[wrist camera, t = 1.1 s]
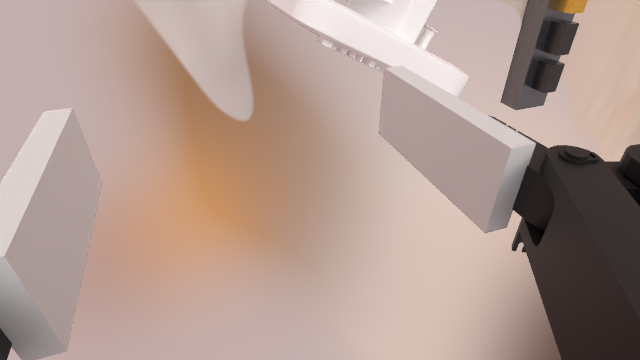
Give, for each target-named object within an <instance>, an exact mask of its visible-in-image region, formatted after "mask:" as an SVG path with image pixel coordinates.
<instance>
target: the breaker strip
mask: <svg viewBox="0 0 640 360" xmlns="http://www.w3.org/2000/svg"><path fill="white" fill-rule="evenodd" d="M586 3H587V0H528V4H527V8H526V11H525V15H524V19H523V22H522V26H521V30H520V34H519V37H518V41H517V44H516V48H515V51H514V55H513V59H512V62H511V66H510V70H509V73H508V77H507V80H506V84H505V88H504V92H503V95H502V99H501V103H503V104H505V105H507V106H509V107H511V108H513V109H515V110H519V109H525V108H531V107H536V106H542V105H544V102H545V99H546V96H547V93H548V92H554V91H556V88H557V85H558V82H559V79H560V76H561V74H562V71H563V68H564V65H565V64H564V63H561V62H558V61H559V58H560V55H566V54H569V51H570V48H571V45H572V42H573V40H574V37H575V34H576V31H577V28H578V25H579V23H576V22H572V20H573V17H574V14H575V13H583V11H584V8H585V6H586Z"/></svg>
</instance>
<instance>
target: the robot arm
mask: <svg viewBox="0 0 640 360" xmlns="http://www.w3.org/2000/svg"><path fill="white" fill-rule="evenodd" d="M379 134H380V135H381V136H382V137H383V138H384V139H385V140H387V141H388V142H389V143H390V144H391V145H392V146H393V147H394V148H395V149H396V150H397V151H398V152H399V153H400V154H401V155H402V156H404V157H405V158H406V159H407V160H408V161H409V162H410V163H411V164H412V165H413V166H414V167H415V168H416V169H417V170H418V171H420V172H421V173H422V174H423V175H424V176H425V177H426V178H427V179H428V180H429V181H430V182H431V183H432V184H433V185H434V186H436V187H437V188H438V189H439V190H440V191H441V192H442V193H443V194H444V195H445V196H446V197H447V198H448V199H449V200H450V201H451V202H452V203H453V204H454V205H456V206H457V207H458V208H459V209H460V210H461V211H462V212H463V213H464V214H465V215H466V216H467V217H468V218H469V219H470V220H471V221H473V222H474V223H475V224H476V225H477V226H478V227H479V228H480V229H481V230H482V231H483V232H484V233H488V232H492V231H495V230H499V229H502V228H506V227H507V226H508V223H509V220H510V217H511V214H512V211H513V210H514V211H515V212H517V213H518V214H519V215H520V216H522V219H521V222H520V225H519V228H518V230H517V233H516V235H515V238H514V241H513V243H512V251H516V249H517V247H518V244H519V243H521V242H523V244H524V247H523V249H522V252H526V253H527V256H528V259H529V262H530V265H531V268H532V271H533V274H534V277H535V280H536V283H537V286H538V289H539V292H540V295H541V298H542V301H543V304H544V307H545V310H546V314H547V316H548V320H549V323H550V326H551V329H552V332H553V334H554V338H555V341H556V344H557V346H558V350H559V353H560V356H561V359H562V360H640V144H638V145H631V146H629V147H628V148H626V150H625V152H624V154H623V156H622V158H621V160H620V162H604V160H603V159H602V158H600V157H599V156H598V155H597V154H595V153H593V152H590V151H588V150H585V149H582V148H579V147H574V146H567V145H560V146H559V145H557V146H553V147H550V148H547V147H545V146H544V145H542V144H540V143H538V142H536V141H535V140H533V139H531V138H530V137H528V136H526V135H524V134H523V133H521V132H519V131H518V132H516V129H514V128H512V127H510V126H506V124H505V123H503V122H502V121H500V120H498V119H496V118H495V117H492V116H489V115H487V114H485V113H483V112H481V111H480V110H478V109H476V108H474V107H473V106H471V105H469V104H468V103H466V102H464V101H462V100H461V99H458V98H457V97H455V96H454V95H452V94H450V93H448V92H447V91H445V90H443V89H442V88H440V87H438V86H436V85H435V84H433V83H431V82H429V81H428V80H426V79H424V78H423V77H421V76H419V75H417V74H416V73H414V72H412V71H410V70H409V69H407V68H405V67H403V66H397V67H389V68H384V80H383V91H382V102H381V115H380V126H379ZM101 186H102V180H101V178H100V175H99V173H98V170H97V168H96V165H95V163H94V160H93V158H92V155H91V153H90V150H89V148H88V145H87V143H86V140H85V137H84V135H83V132H82V130H81V128H80V125H79V122H78V120H77V117H76V115H75V112H74V110H73V108H66V109H59V110H50V111H44V112H43V114H42V115H41V117H40V119H39V120H38V122H37V124H36V125H35V127H34V129H33V130H32V132H31V134H30V135H29V137H28V139H27V140H26V142H25V144H24V145H23V147H22V149H21V150H20V152H19V153H18V155H17V157H16V159H15V160H14V162H13V163H12V165H11V167H10V169H9V170H8V172H7V174H6V175H5V177H4V178H3V180H2V182H1V183H0V360H7V358H8V355H9V352H10V349H11V347H12V348H13V349H14V350H15V352H16V353H17V354H18V356H19V357H20V358H21V359H22V360H36V359H40V358H44V357H47V356H51V355H55V354H58V353H62V352H65V351H67V347H68V343H69V338H70V333H71V329H72V324H73V318H74V314H75V310H76V304H77V300H78V295H79V290H80V286H81V281H82V276H83V272H84V267H85V262H86V257H87V253H88V248H89V243H90V239H91V234H92V229H93V224H94V220H95V215H96V210H97V205H98V201H99V196H100V191H101Z"/></svg>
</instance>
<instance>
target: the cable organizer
mask: <svg viewBox="0 0 640 360" xmlns="http://www.w3.org/2000/svg"><path fill="white" fill-rule="evenodd" d="M266 1H267V2H268V3H270V4H271V5H273V6H274V7H276V8H277V9H278V10H280V11H281V12H283V13H284V14H285V15H287V16H288V17H290V18H291V19H293V20H294V21H295V22H297V23H298V24H300V25H301V26H303V27H304V28H306V29H308V30H309V31H311V32H313V33H315V34H317V35H319V36H318V38H317V40H318V41H319V42H320V43H321V44H322V45H324V46H326V47H328V48H332V49H334V50H337V51H339V52H341V53H342V54H345V55H346V54H347V55H348V56H349V57H351V58H352V59H356V60H357V61H359V62H363V63H365V64H366V65H368V66H369V67H372V68H375V69H377V70H380V71H381V72H384V68H389V67H397V66H403V67H405V68H407V69H409V70H410V71H412V72H414V73H416V74H417V75H419V76H421V77H423V78H424V79H426V80H428V81H429V82H431V83H433V84H435V85H436V86H438V87H440V88H442V89H443V90H445V91H447V92H448V93H450V94H452V95H454V96H455V97H459V95H460V93H461V91H462V90H463V89H464V87H465V85H466V84H467V82H468V80H469V77H468V75H467V74H466V73H464V72H463V71H462V70H460V69H459V68H457V67H456V66H454V65H452V64H451V63H449V62H447V61H445V60H443V59H441V58H440V57H438V56H436V55H434V54H432V53H430V52H429V51H427V50H425V49H426V47H427V46H428V44H429V42H430V40H431V38H432V37H433V35H434V33H435V32H438V31H437V30H435V29H434V28H433V27H431V26H429V25H426V24H425V23H426V20H427V19H428V17H429V15H430V13H431V12H432V10H433V8H434V6H435V4H436V2H437V0H347V3H346V5H345V6H343V5H342V4H340V3H338V2H336V1H334V0H266ZM423 26H425V27H426V29H425V31H424V33H423V35H422V36H421V38H420V40H419V42H418V44H417V45H416V44H414V42H415V41H416V39H417V37H418V36H419V34H420V32H421V30H422V28H423ZM438 33H439V32H438Z"/></svg>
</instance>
